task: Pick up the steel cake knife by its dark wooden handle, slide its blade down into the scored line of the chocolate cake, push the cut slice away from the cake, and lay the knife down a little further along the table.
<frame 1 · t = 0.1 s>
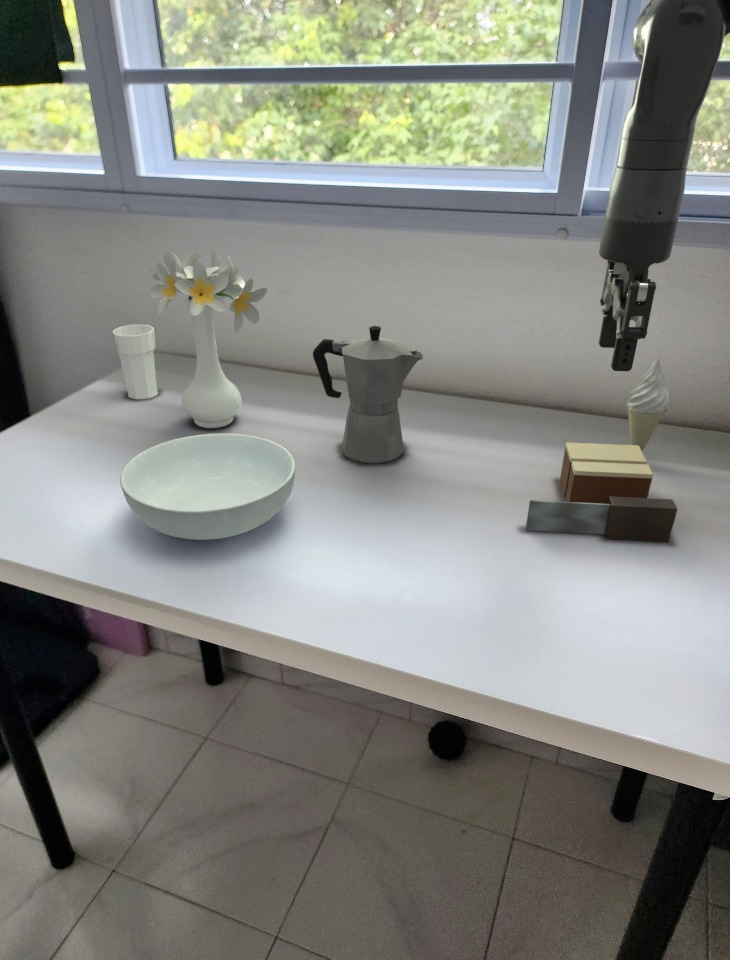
hand: (613, 358, 90), 17 cm above the table, tool pointing down, fingers open, 8 cm apart
coffeepot: (365, 450, 109), on the table
cup: (143, 394, 129), on the table
serving bowl: (214, 517, 93), on the table
knife: (595, 533, 88), on the table
cake slice: (603, 507, 93), on the table
cake: (597, 490, 97), on the table
flower vase: (219, 421, 118), on the table
ice cream cone: (634, 463, 104), on the table
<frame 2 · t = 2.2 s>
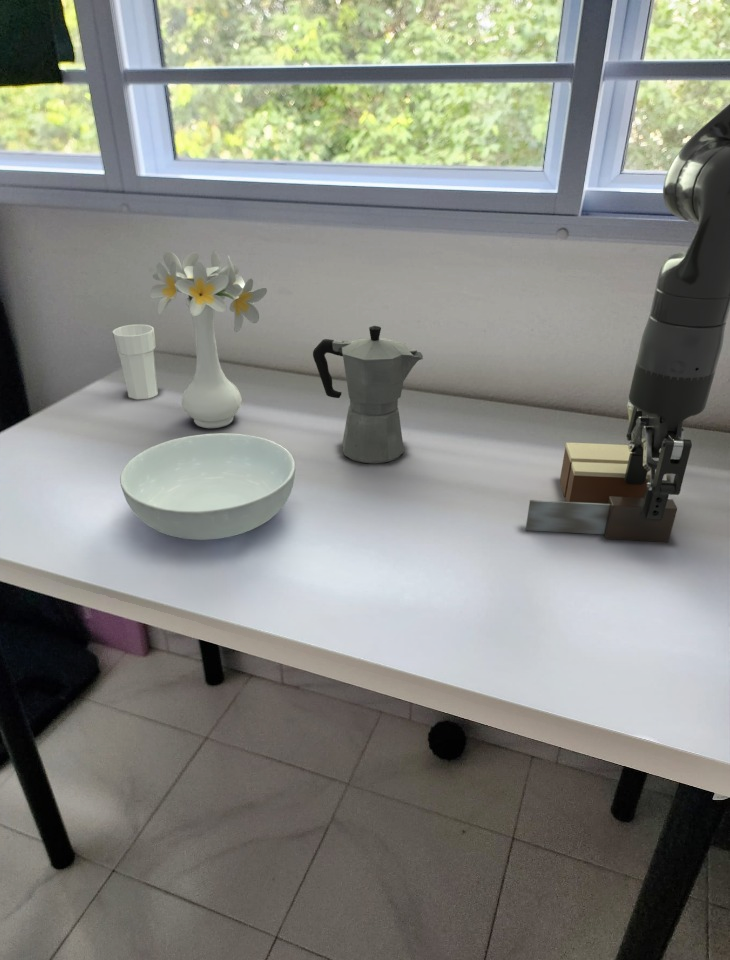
hand: (641, 500, 85), 5 cm above the table, tool pointing down, fingers open, 8 cm apart
cake slice: (603, 508, 93), on the table, touching gripper
everything else where it was.
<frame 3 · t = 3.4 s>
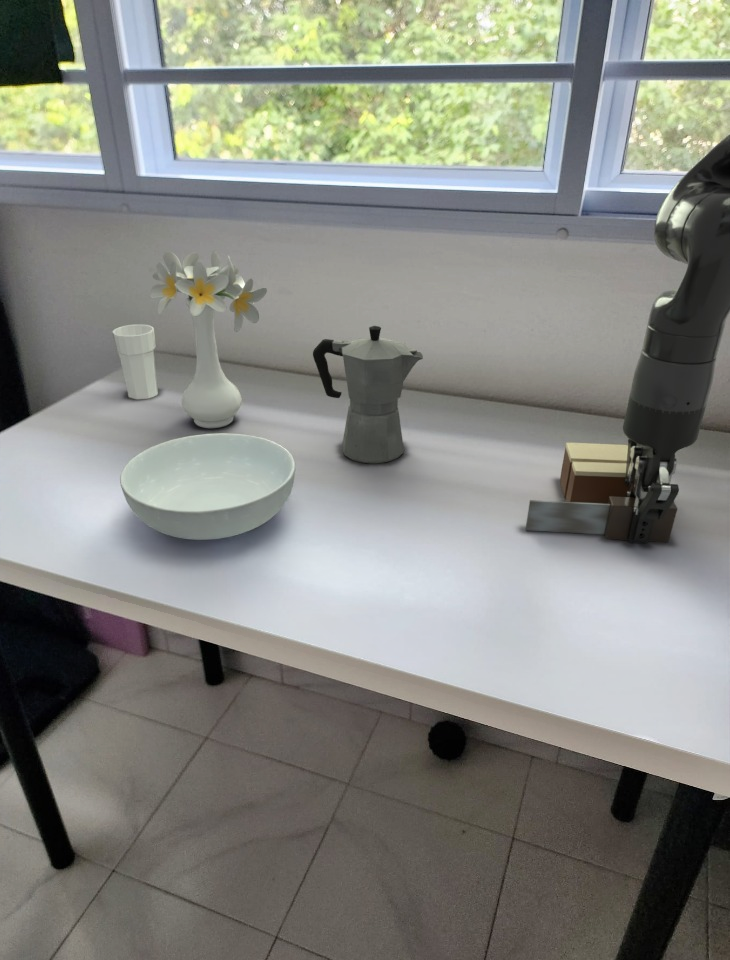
hand: (634, 534, 88), 0 cm above the table, tool pointing down, fingers closed on knife, 2 cm apart
knife: (595, 533, 88), on the table, touching gripper
cake slice: (603, 507, 93), on the table
everything else where it was.
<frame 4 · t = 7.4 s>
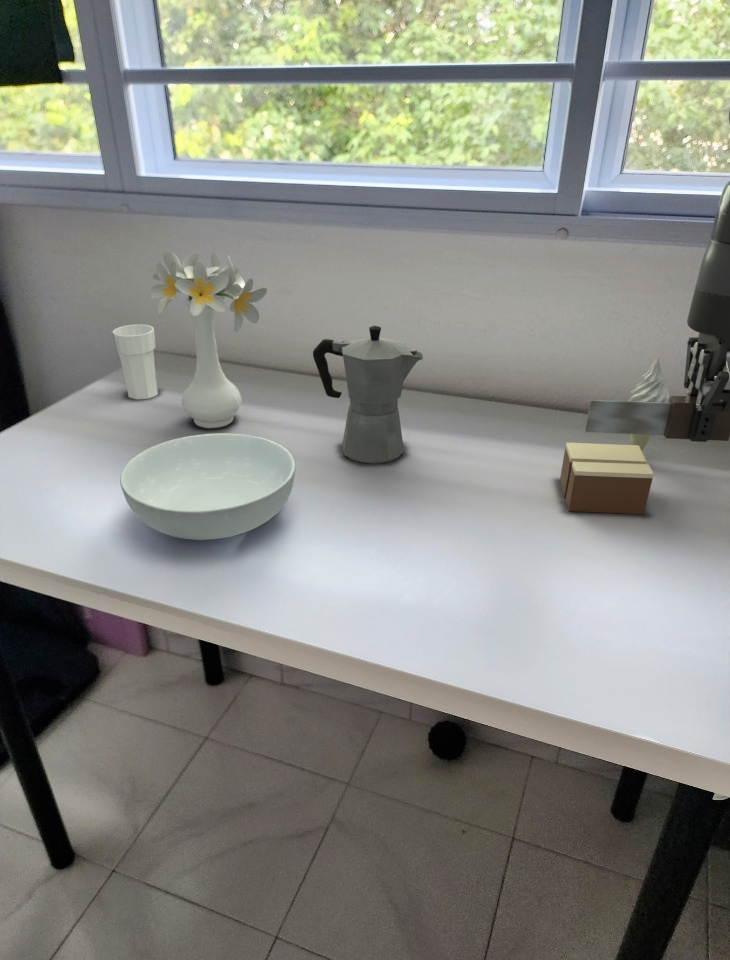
hand: (694, 434, 88), 10 cm above the table, tool pointing down, fingers closed on knife
knife: (654, 434, 89), point 9 cm above the table, touching gripper
everything else where it was.
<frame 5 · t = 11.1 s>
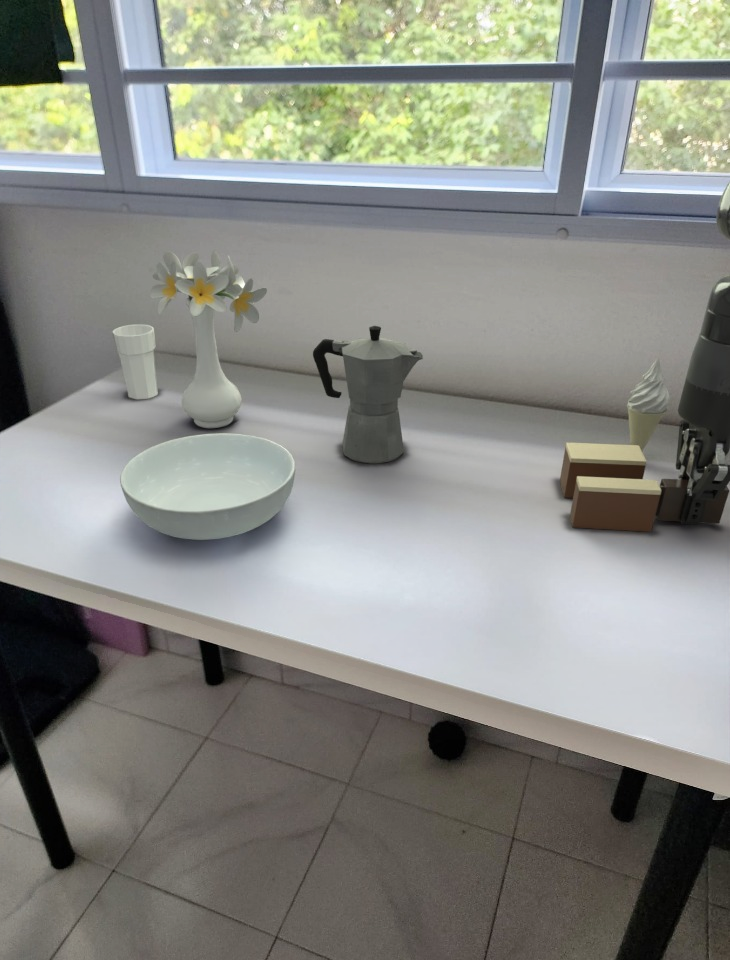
hand: (686, 515, 89), 1 cm above the table, tool pointing down, fingers closed on knife, 2 cm apart
knife: (646, 515, 90), point 1 cm above the table, touching cake slice, gripper
cake slice: (609, 524, 90), on the table, touching knife
everything else where it was.
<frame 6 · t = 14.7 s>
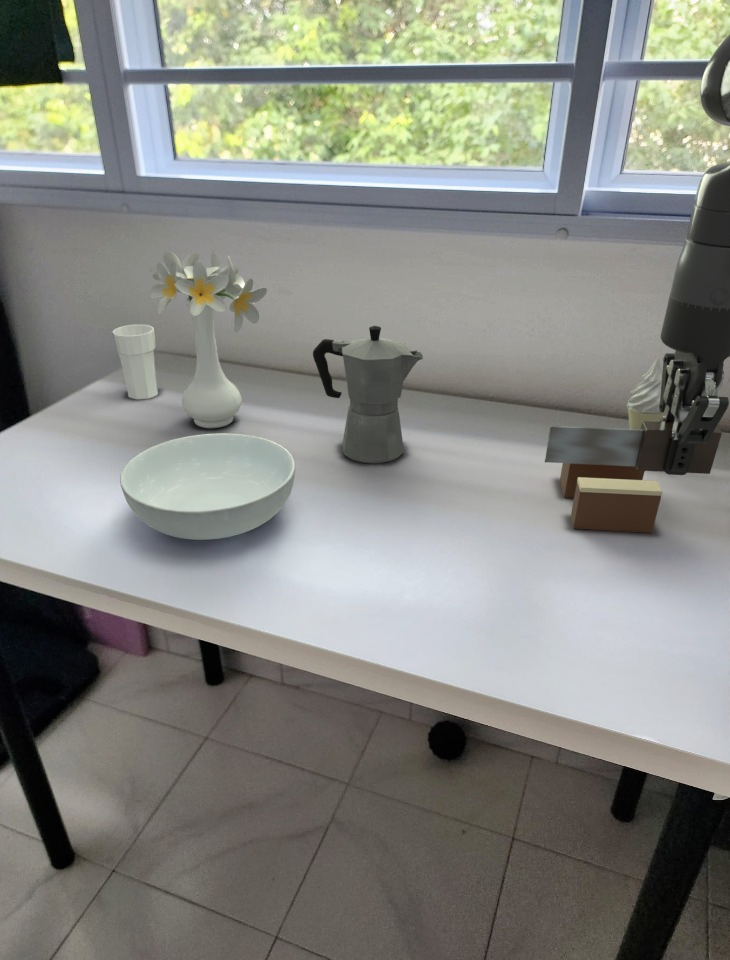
hand: (671, 466, 76), 12 cm above the table, tool pointing down, fingers closed on knife
knife: (624, 465, 77), point 12 cm above the table, touching gripper
cake slice: (610, 525, 90), on the table
everything else where it was.
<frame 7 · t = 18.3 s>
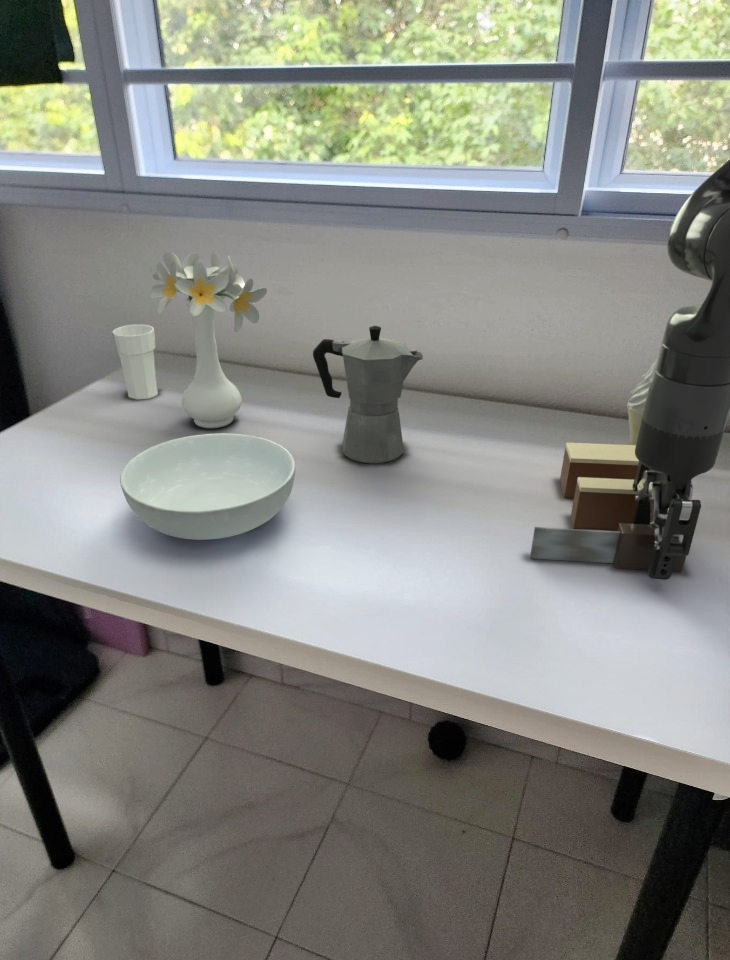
hand: (648, 555, 82), 1 cm above the table, tool pointing down, fingers open, 8 cm apart
knife: (603, 562, 83), on the table
cake slice: (610, 525, 90), on the table, touching gripper
everything else where it was.
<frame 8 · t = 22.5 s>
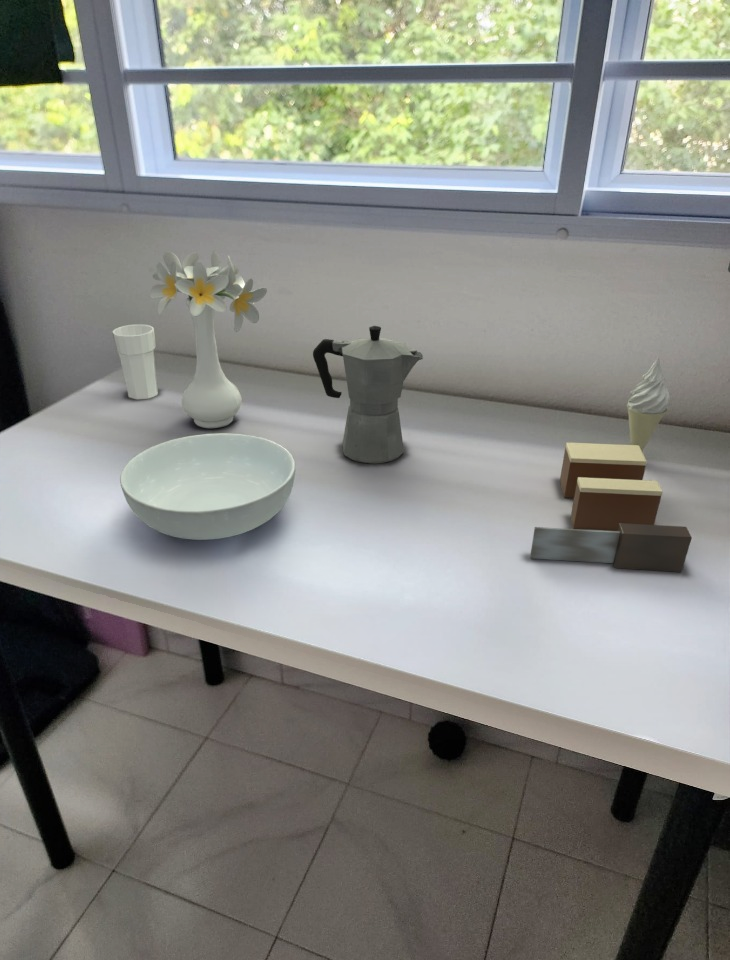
cake slice: (610, 525, 90), on the table
everything else where it was.
at the end: cake slice 0.7 cm from the target spot on the table beside the cake, on the table; cake moved 0.0 cm from its start; the gripper is holding nothing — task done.
